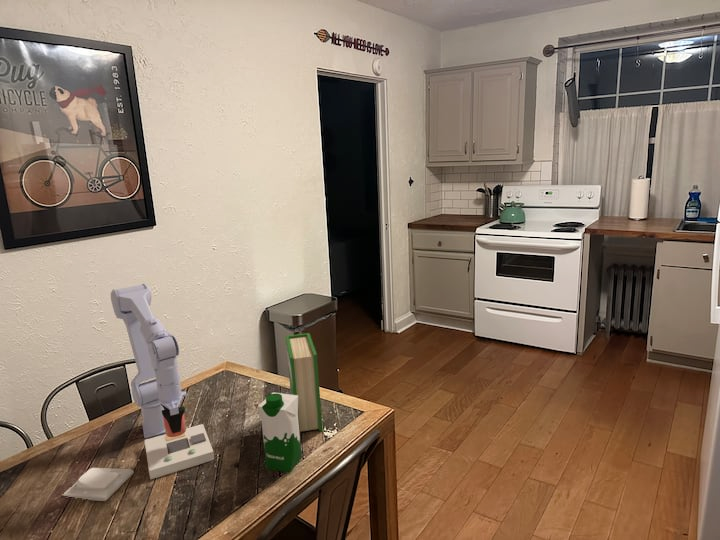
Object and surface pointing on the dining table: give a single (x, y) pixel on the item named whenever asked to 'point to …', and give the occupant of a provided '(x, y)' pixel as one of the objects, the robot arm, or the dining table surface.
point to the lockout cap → (168, 430)
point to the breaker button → (177, 446)
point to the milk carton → (280, 431)
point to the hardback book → (304, 380)
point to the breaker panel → (178, 452)
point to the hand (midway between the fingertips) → (175, 427)
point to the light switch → (98, 483)
